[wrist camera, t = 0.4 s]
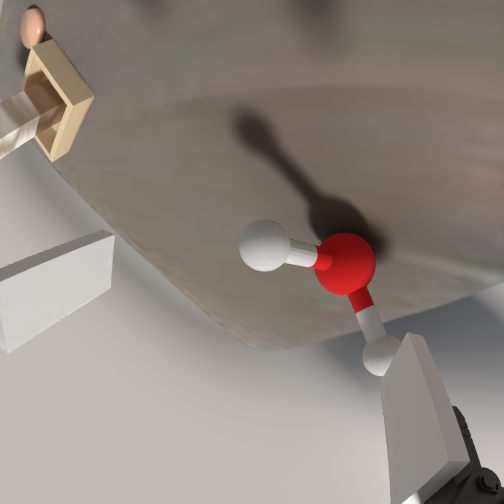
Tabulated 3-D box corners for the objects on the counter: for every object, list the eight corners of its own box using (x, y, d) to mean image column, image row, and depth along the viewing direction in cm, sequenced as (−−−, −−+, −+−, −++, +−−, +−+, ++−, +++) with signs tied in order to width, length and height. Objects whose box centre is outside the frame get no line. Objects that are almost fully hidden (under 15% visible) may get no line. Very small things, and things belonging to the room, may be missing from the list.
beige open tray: (53, 38, 27) (31, 46, 25) (95, 95, 31) (73, 106, 29) (33, 100, 37) (16, 109, 35) (69, 151, 41) (52, 162, 38)
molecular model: (433, 284, 27) (422, 372, 21) (392, 307, 31) (371, 387, 25) (296, 163, 26) (241, 232, 20) (265, 204, 31) (211, 273, 24)
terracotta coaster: (25, 10, 25) (19, 12, 24) (44, 4, 23) (37, 6, 23) (27, 46, 29) (21, 49, 29) (46, 45, 28) (39, 47, 27)
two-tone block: (53, 76, 31) (-27, 119, 23) (69, 99, 33) (-11, 146, 24) (46, 98, 34) (-26, 141, 26) (61, 120, 36) (-11, 167, 28)
